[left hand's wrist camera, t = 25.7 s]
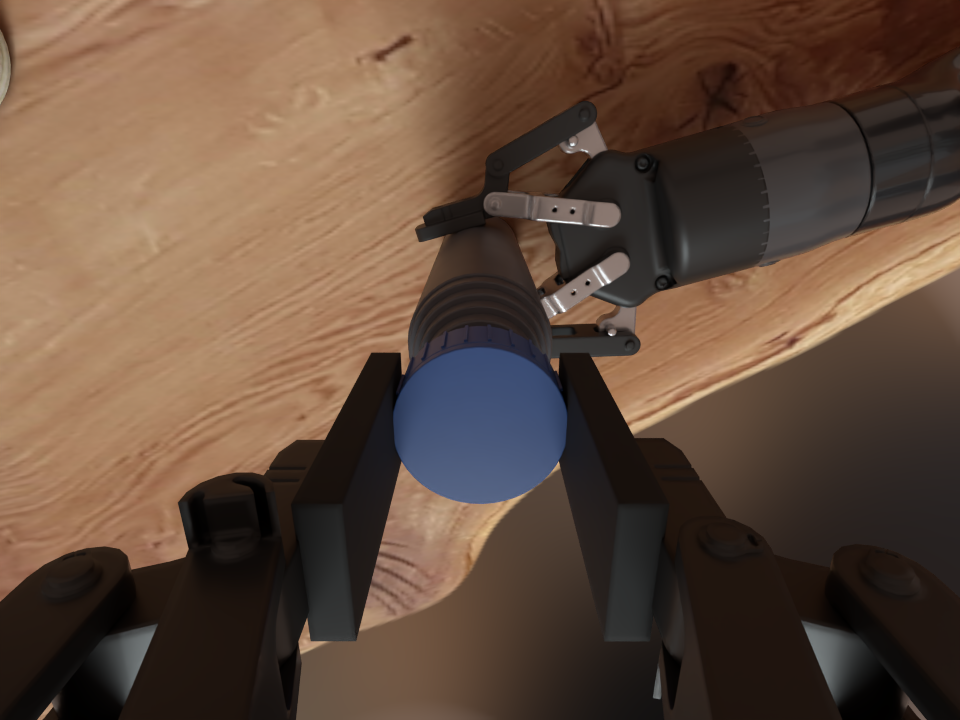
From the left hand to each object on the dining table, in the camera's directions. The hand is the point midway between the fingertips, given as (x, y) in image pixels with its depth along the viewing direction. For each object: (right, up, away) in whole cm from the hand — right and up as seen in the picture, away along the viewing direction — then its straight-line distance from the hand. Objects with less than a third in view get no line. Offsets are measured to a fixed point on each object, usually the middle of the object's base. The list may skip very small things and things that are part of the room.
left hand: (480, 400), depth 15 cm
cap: (0, -1, -1) cm, 1 cm away
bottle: (0, +8, +22) cm, 23 cm away
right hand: (-2, +5, +16) cm, 17 cm away
